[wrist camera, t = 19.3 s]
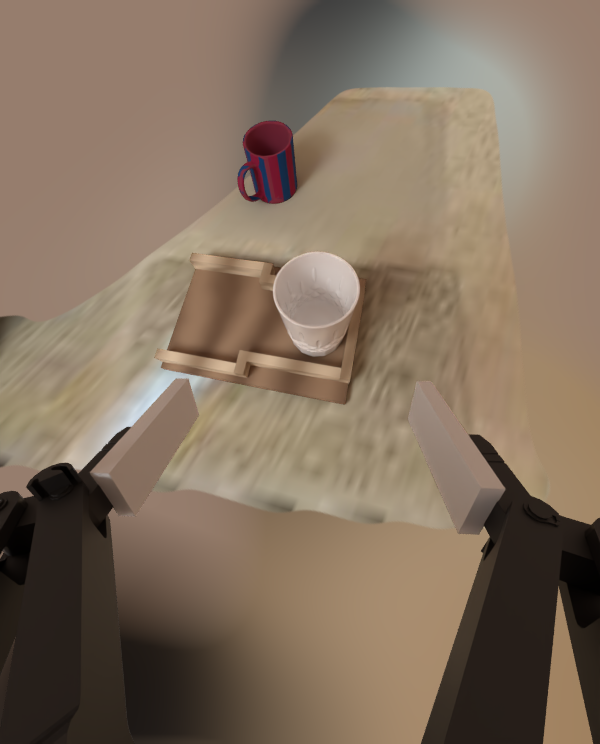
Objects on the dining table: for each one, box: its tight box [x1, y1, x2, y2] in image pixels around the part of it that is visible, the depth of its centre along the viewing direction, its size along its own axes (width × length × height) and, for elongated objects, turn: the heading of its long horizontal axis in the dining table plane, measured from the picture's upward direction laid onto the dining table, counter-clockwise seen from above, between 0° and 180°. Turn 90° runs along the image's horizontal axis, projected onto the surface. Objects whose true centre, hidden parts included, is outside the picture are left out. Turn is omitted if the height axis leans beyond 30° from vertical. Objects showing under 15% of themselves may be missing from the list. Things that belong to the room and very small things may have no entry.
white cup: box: [273, 252, 360, 357], centre depth 28 cm, size 8×8×10 cm
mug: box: [238, 121, 297, 204], centre depth 37 cm, size 7×10×7 cm
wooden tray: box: [154, 253, 366, 405], centre depth 33 cm, size 24×17×3 cm
